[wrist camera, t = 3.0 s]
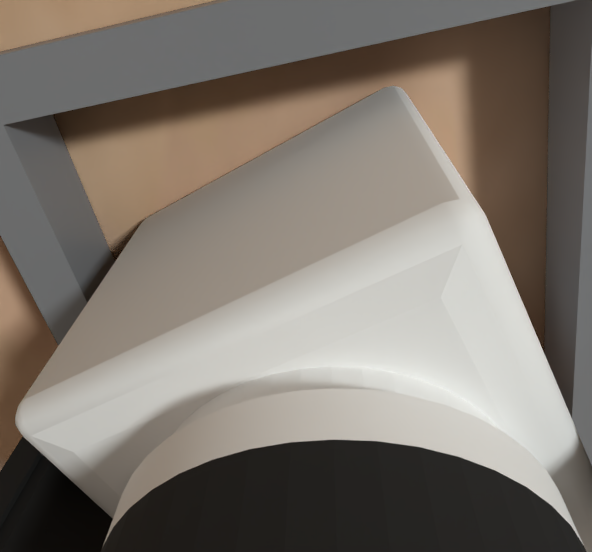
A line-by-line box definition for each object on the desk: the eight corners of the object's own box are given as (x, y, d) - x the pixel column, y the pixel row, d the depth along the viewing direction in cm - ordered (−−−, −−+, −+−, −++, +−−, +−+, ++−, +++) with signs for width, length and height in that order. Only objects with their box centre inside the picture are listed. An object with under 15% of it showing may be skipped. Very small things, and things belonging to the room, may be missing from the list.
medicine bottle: (138, 218, 14) (-400, 990, 3) (397, 75, 12) (924, 855, 2) (279, 405, 17) (216, 1119, 6) (505, 315, 15) (930, 1128, 5)
